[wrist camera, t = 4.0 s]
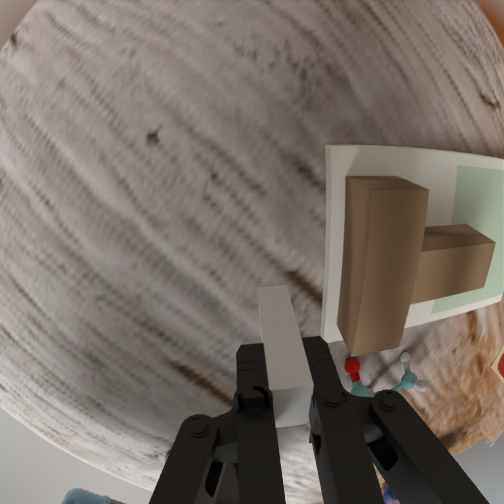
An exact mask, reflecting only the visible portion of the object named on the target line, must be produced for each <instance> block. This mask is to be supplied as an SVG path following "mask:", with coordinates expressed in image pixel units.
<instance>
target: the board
mask: <svg viewBox="0 0 504 504" xmlns="http://www.w3.org/2000/svg"><path fill="white" fill-rule="evenodd" d="M325 161H326V229H325V262H324V283H323V300H322V314H321V327H320V336H321V337H322V338H323V339H324V340H325V341H326V342H327V343H330V342H336V341H342V340H343V337H342V335H341V333H340V331H339V329H338V327H337V324H336V323H337V314H338V305H339V295H340V284H341V272H342V258H343V242H344V220H345V176H399V177H401V178H403V179H406V180H408V181H411V182H413V183H415V184H417V185H420V186H422V187H424V188H426V189H429V197H428V207H427V215H426V223H425V227H430V226H444V225H458V224H467V225H469V226H471V227H472V228H474V229H476V230H477V231H479V232H480V233H482V234H484V235H485V236H487V237H488V238H490V239H491V240H493V241H495V242H496V244H495V249H494V253H493V257H492V261H491V264H490V268H489V272H488V275H487V279H486V282H485V285H484V288H480V289H476V290H472V291H468V292H464V293H460V294H456V295H452V296H448V297H443V298H439V299H434V300H430V301H425V302H421V303H416V304H411V305H410V308H409V312H408V315H407V319H406V323H405V327H404V328H407V327H412V326H416V325H420V324H424V323H428V322H432V321H436V320H440V319H443V318H447V317H451V316H454V315H458V314H461V313H465V312H468V311H471V310H475V309H478V308H481V307H484V306H487V305H490V304H493V303H496V302H499V301H500V300H501V298H502V295H503V292H504V159H503V158H498V157H492V156H486V155H479V154H472V153H465V152H457V151H448V150H439V149H428V148H416V147H401V146H382V145H325Z"/></svg>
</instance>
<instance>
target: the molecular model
mask: <svg viewBox="0 0 504 504" xmlns="http://www.w3.org/2000/svg"><path fill="white" fill-rule="evenodd" d="M410 358H411V355H410V353H408V352H403V353H402V354H401V356H400V360H401V361H402V362H403V363H404V368H405V374H404V375H403V377H402V379H401V383H400V384H399V385H397V386H395V387H394V388H392V389H391V390H394V391H399V390H400V389H402V388H403V387H404V388H406V389H411V388H413V387H414V386H415V389H417V390H419V391H421V392H424V391H426V390H427V389H428V387H429V383H428V381H426V380H417V376H416V375H415V374H414V373H412V372H411V371H410V365H409V360H410ZM359 369H360V362H359V361H358V360H357V359H356V358H350V359H349V360H347V361H346V363H345V370H346V371H347V372H348V373H350V375H351V379H352V383H353V388H352V390H351V393H350V394H353V395H355V396H363V397H374V396H375V394H377V393H378V392H379V391H378V392H376V393H374V391H373V389H371V388H367V387H366V386H364V385H362V384H361V380H360V376H359V372H358V370H359Z"/></svg>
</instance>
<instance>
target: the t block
mask: <svg viewBox="0 0 504 504" xmlns="http://www.w3.org/2000/svg"><path fill="white" fill-rule="evenodd" d="M428 197H429V189H426V188H424V187H422V186H420V185H417V184H415V183H413V182H411V181H408V180H406V179H403V178H401V177H399V176H345V220H344V242H343V258H342V272H341V284H340V295H339V305H338V314H337V323H336V324H337V327H338V329H339V331H340V333H341V335H342V337H343V340H344V342H345V344H346V346H347V348H348V351H349V353H350V355H351V357H355V356H360V355H365V354H370V353H374V352H379V351H383V350H388V349H392V348H396V347H399V344H400V340H401V337H402V334H403V330H404V327H405V323H406V319H407V315H408V312H409V308H410V305H411V304H416V303H421V302H425V301H430V300H434V299H439V298H443V297H448V296H452V295H456V294H460V293H464V292H468V291H472V290H476V289H480V288H484V285H485V282H486V279H487V275H488V272H489V268H490V264H491V261H492V257H493V253H494V249H495V244H496V242H495V241H493V240H491V239H490V238H488V237H487V236H485V235H484V234H482V233H480V232H479V231H477V230H476V229H474V228H472V227H471V226H469V225H467V224H458V225H444V226H430V227H425V223H426V215H427V207H428Z"/></svg>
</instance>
